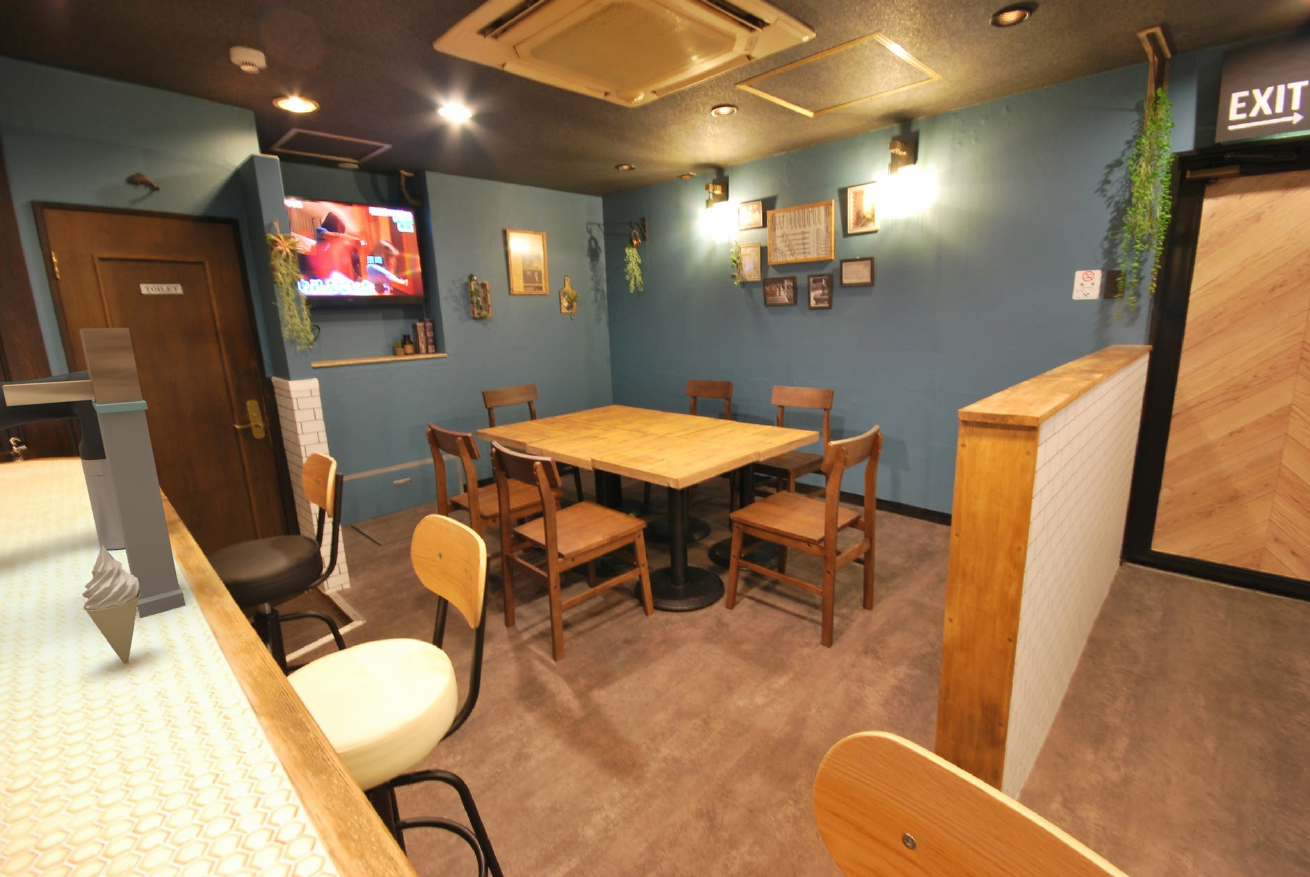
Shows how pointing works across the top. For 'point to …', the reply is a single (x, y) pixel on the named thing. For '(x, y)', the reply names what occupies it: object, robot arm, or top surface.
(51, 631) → the top surface
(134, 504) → the stand
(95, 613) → the ice cream cone
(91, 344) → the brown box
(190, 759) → the top surface
